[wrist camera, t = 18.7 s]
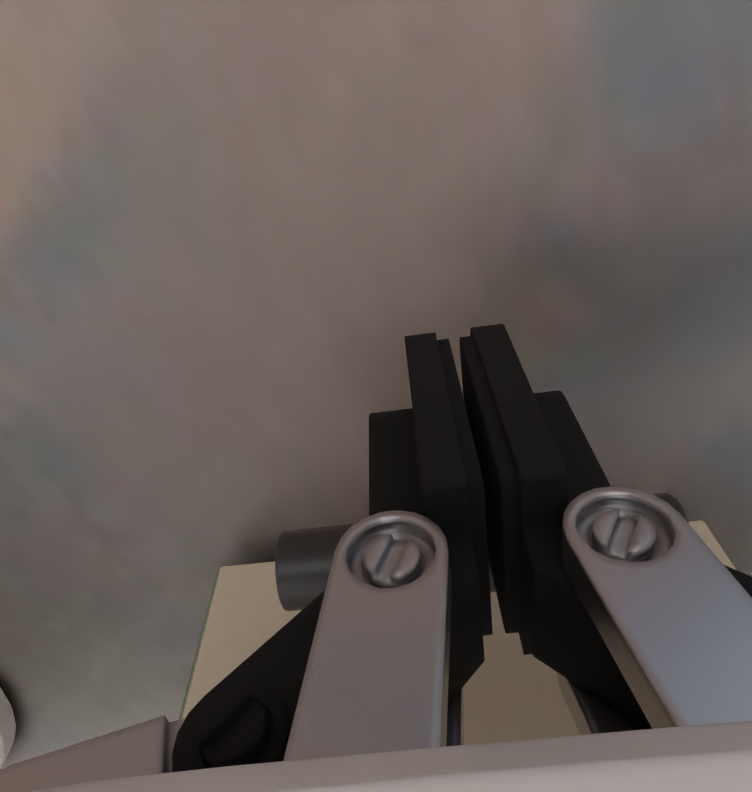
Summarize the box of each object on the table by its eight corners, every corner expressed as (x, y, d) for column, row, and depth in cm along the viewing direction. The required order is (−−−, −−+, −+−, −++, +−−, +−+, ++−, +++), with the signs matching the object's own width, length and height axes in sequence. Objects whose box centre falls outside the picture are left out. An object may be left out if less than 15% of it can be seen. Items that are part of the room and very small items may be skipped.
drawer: (170, 432, 14) (35, 727, 8) (739, 371, 13) (1026, 643, 8) (312, 812, 24) (296, 1062, 18) (638, 787, 23) (726, 1038, 18)
